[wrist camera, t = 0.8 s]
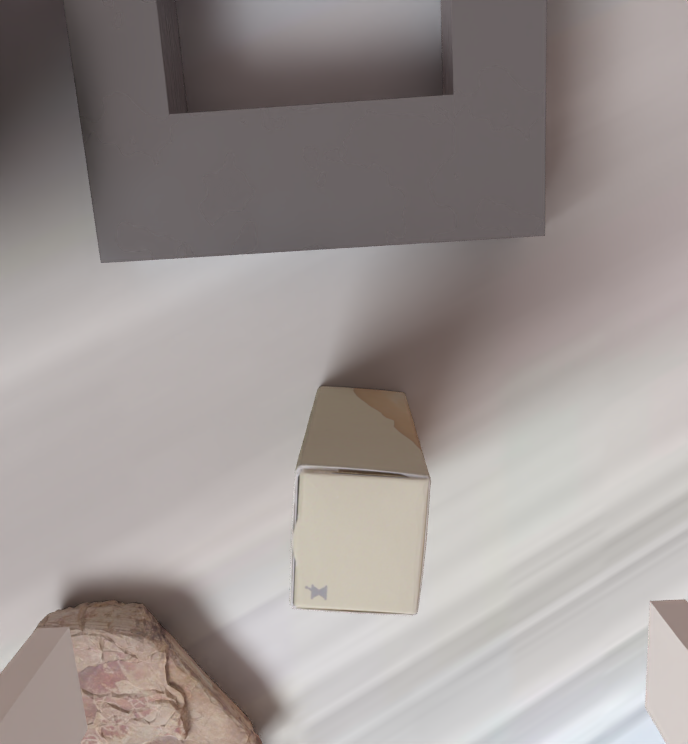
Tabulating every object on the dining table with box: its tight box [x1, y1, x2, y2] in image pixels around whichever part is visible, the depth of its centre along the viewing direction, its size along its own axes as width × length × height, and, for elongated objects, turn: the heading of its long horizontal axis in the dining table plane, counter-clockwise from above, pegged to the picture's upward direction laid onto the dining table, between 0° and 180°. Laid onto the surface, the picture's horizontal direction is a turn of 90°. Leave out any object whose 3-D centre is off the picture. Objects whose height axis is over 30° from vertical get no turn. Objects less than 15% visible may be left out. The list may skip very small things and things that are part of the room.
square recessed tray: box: [63, 0, 547, 263], centre depth 26 cm, size 18×18×3 cm
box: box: [290, 386, 431, 616], centre depth 26 cm, size 5×4×11 cm
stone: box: [34, 600, 262, 744], centre depth 34 cm, size 12×12×3 cm
